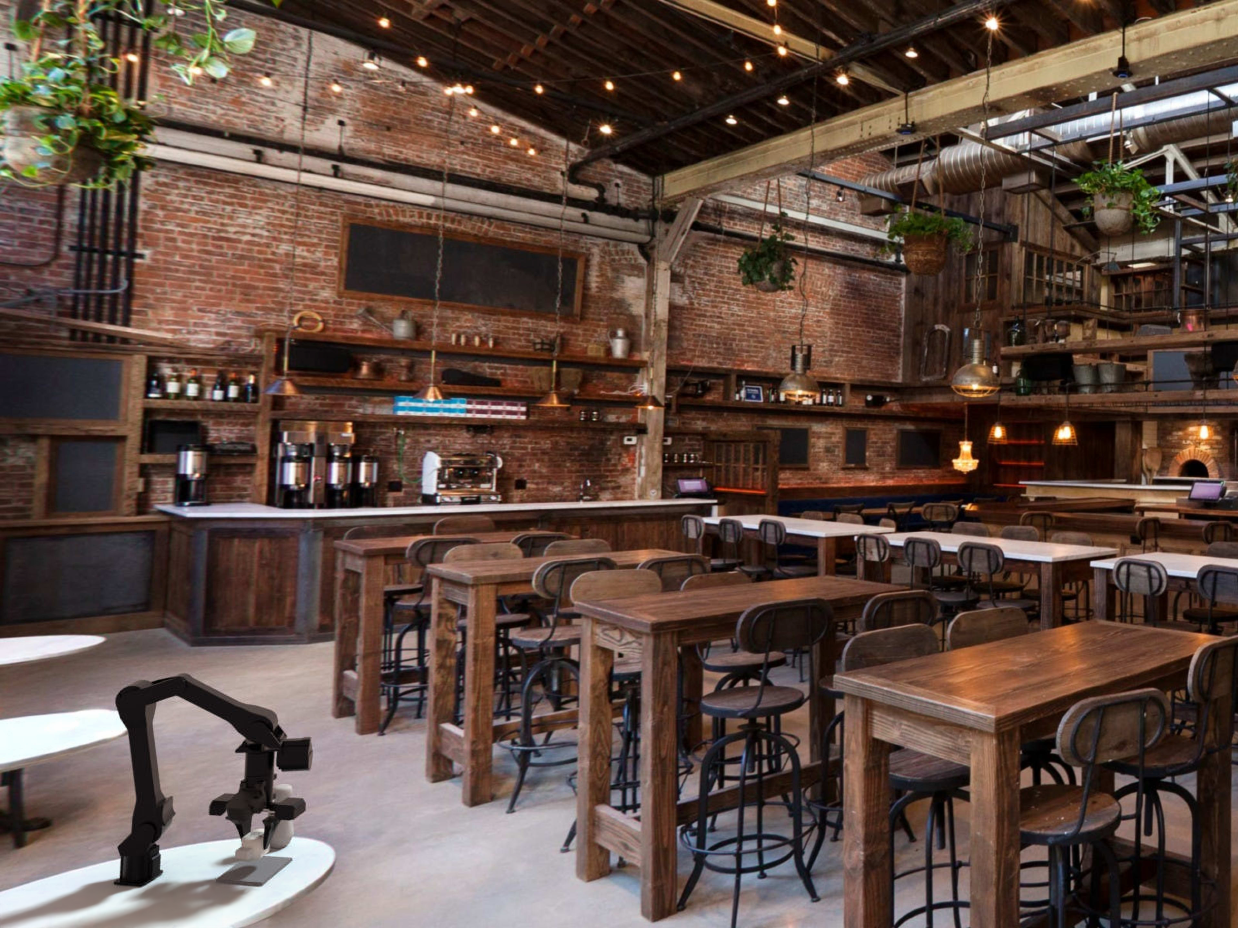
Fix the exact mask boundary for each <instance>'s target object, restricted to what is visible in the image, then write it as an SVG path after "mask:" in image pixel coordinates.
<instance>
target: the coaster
mask: <svg viewBox="0 0 1238 928" xmlns="http://www.w3.org/2000/svg"><path fill="white" fill-rule="evenodd" d="M292 861H293V857H288V856H286V857H285V856H273V855H272V856H271V855H264V856H262V857H261V858H260V859H258V860H255V861H242V860H241V859H240V860H239V861H238V862H236V864H234V865H233V866H232V867H230V868H229V869H227V870H225V872H223V873H222V874H221V875H220V876H218V877H216V878H215V883H220V884H223V883H224V884H235V885H247V886H249V885H250V886H264V885H265V884H266V883H268V881H270V880H271V879H273V877H275V876H276V875H277V874H278V873H279V872H280V871H282V870H283V869H284V868H285V867H286V866H288V865H289V864H290V863H291V862H292Z"/></svg>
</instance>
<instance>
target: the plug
mask: <svg viewBox="0 0 1238 928" xmlns="http://www.w3.org/2000/svg"><path fill="white" fill-rule="evenodd" d="M263 838H264V828H257V829H253V830H251V832H250V833H248V834H247V835H245V836H244V837H243V838H242V842H241V844H240V845H241V846H240V847H238V848H237V849H236V850H235V852H234V859H235V860H240V861H241V860H242V861H255V860H258V859H260V858H261V857H262V856H266V854H268V853H269V852H270V849H271V846H270V844H269V846H268V848H267V849H266V850H264V849H263Z"/></svg>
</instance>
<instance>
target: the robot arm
mask: <svg viewBox="0 0 1238 928" xmlns="http://www.w3.org/2000/svg"><path fill="white" fill-rule="evenodd" d="M173 697H179V698H181V700H184V701H186V702H189V703H190V704H192V705H194V706H196V707H198V708H200V709H202V710H204V711H206V712H208V713H210V714H212V715H213V716H216V717H218V718H220V719H222V720H224V721H225V722H227V723H229V724H230V725H231V726H232V727H233V728H234V730H235V731H236V732H237V733H238V734H239V735H241V736H242V737H244V738H245V739H244V740H243V741H242V743H240V744H239V745H238V747H236V749H234V753H235V754H244V756H245V757H244V773H243V774H244V776H243V777H244V778H243V779H242V780H240V783H239V788H238V791H237V792H236V793H228V792H227V793H223V794H222V795H219V796H217V797H216V798H214V799H212V800H211V801H210V803H209V805H208V815H209V816H215V817H216V816H217V817H221V816H223V815H224V814H225V813H227V814H226V816H225V820H227V821H230V822H231V823H232V824H233V825H234V826H235V829H236V830H237V833H238V836H239V838H240V839H239V840H240V841H241V843H242V838H243V837H244V836H245V835H247V834H248V833H250V832H251V831H252V821H253V816H254V815H255V814H258V815H260V814H261V813H262V812H266V813H267V816H266V817H265V818H264V819H262V820H261V823H262V824H263V825H264V838H263V849H264V850H266V849H267V848H268V846H269V844H270V842H271V840H272V837H273V835H274V833H275V831H276V829H277V827H278V825H279V823H280V821H281V820H288V821H290V820H293V821H294V820H296V819H298V817H300V816H301V815H302V814H304V813H305V812H306V810H307V809H306V807H307V805H306V804H307V802H306V801H305V799H304V798H302V797H291V796H290V797H288V798H286V799H285V800H283V801H282V802H274V801H273V800H275V798H276V793H273V788H274V782H275V781H274V780H276V779H278V778H277V777H278V773H275V766H276V768H278V770H280V771H281V773H287V772H288V773H289V772H291V773H292V772H310V771H311V769H312V764H313V758H314V755H313V754H314V750H313V745H312V737H311V736H303V737H300V738H299V737H296V738H295V737H293V738H290V737H289V738H288V735H287V733H286V732H285V731H284V729H283V728H282V727H281V726H280V724H279V718H278V714H277V713H276V711H273V710H272V709H269V708H266V707H263V706H260V705H256V704H250V703H249V704H248V703H244V702H241V701H239V700H237V699H235V698H233V697H232V696H230V695H228V694H225V693H224V692H222V691H220V690H219V689H218V690H217V689H215V688H213V687H212V686H211V685H208V684H206V683H204V682H202V681H200V680H198V679H196V678H194V677H193V676H192V675H191V674H189V673H186V672H181V673H178V674H176V675H173V676H168V677H162V678H160V679H159V678H158V679H155V680H152V681H150V680H147V679H138V680H135V681H134V682H131V683H130V684H128V685H127V686H125V687H123V688H122V689H121V690H119V692H117V694H116V696H115V699H114V700H115V701H114V703H115V707H116V711H117V714H118V716H119V719H120V721H121V722H122V724H123V726H124V727H125V728H126V731H127V735H128V742H129V743H128V744H129V751H130V760H131V768H132V769H131V770H132V776H133V786H134V792H135V804H134V808H133V812H132V817H131V827H130V828H131V829H130V830H131V832H130V833H129V834H128V835H127V836H126V837H125V838H124V839H123V840H122V841H121V842H120V843H119V845H117V851H118V853H119V857H120V862H119V877H117V878H116V879H115V880H113V884H114V885H123V886H137V887H143V886H145V885H147V884H149V883H150V882H152V881H153V880H154V879H156V878H157V877H159V876H160V875H162V874H163V873H164V869H161V863H162V862H161V859H162V854H161V853H160V844H156V843H157V841H158V840H160V839H161V837H162V836H163V835H164V834H165V832H167V830H168V829H169V828H170V827H171V825H172V823H173V818H174V817H175V816H176V811H175V809H174V796H173V795H170V796H168V797H166V796H165V795H164V794H163V792H162V788H161V783H160V782H161V780H160V773H159V765H158V756H157V750H156V749H157V748H156V741H155V734H154V733H155V732H154V724H153V723H154V718H155V713H156V709H157V703H159V702H161V701H165V700H168V699H169V698H173ZM275 756H276V757H275ZM275 758H276V759H275Z"/></svg>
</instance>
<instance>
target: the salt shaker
mask: <svg viewBox="0 0 1238 928" xmlns="http://www.w3.org/2000/svg"><path fill="white" fill-rule="evenodd" d="M273 793H276V798H275V799H274V801H273V802H282V801H283V800H285V799H286V798H288V797H291V796H292V795H293V786H292V785H291V784H287V783H281V784H276V785H274V786H273ZM294 833H295V828H294V820H290V821H288V820H281V821H280V823H279V825H278V827H277V829H276V831H275V833H274V835H273V837H272V840H271V842H270V848H274V849H281V848H286V847H288V846H289V844H290V843H291V841H292V839H293V837H294Z"/></svg>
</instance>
